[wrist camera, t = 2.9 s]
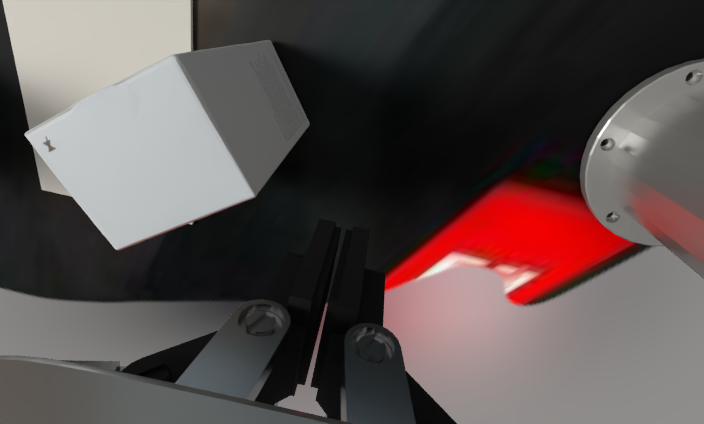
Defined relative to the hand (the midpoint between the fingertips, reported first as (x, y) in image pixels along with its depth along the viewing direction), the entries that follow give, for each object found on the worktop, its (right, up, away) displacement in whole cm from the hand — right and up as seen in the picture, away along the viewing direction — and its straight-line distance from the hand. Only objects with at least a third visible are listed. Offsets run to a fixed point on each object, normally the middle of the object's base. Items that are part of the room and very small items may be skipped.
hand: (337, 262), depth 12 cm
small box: (-7, +9, +15) cm, 19 cm away
